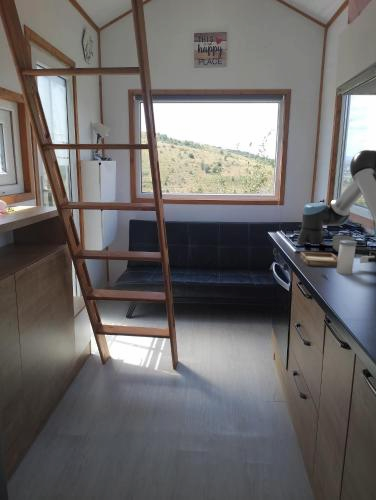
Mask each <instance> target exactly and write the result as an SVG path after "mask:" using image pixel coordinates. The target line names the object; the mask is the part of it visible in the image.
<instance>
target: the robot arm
mask: <svg viewBox="0 0 376 500" xmlns="http://www.w3.org/2000/svg"><path fill="white" fill-rule="evenodd" d="M349 167H350V168H349V171H350V172H349V173H350V175H351V178H352V181H351V182H350V183H349V185H348V186H347V187H346V188H345V190H343V192H341V194H340V195H339V196H338V198H335V199H333V200H331V202H330V203H329V204H328V205H326V204H325V203H324V202H311V203H307V204H305V205H304V206H303V210H302V221H301V229H300V231H299V234H298V237H297V240H296V243H297V244H298V245H302V246H305V245H304V244H306V243H311V244H321V243H323V244H324V245H325V239H324V233H323V228H324V226H326V227H327V226H337V227H338V226H343V225H345V224H346V223H347V222H348V221H349V219H350V216H351V209H352V207H353V206H354V204H355V203H357V202H358V200H359V199H360V198H361V197H362V198H363V199H364V201H365V203H366V206H367V208H368V210H369V213H370V215H371V217H372V219H373V222H374V224H375V225H376V150H373V149H372V150H370V149H364V150H360V151H359V152H357V153H356V154H354V156H353V157H352V159H351V162H350V165H349ZM373 232H374V233H373V235H374V238H375V239H376V226H375V227H374V230H373ZM355 255H361V256H360V260H359V263H360V264H369V263H371V264H372V263H373V264H374V263H375V264H376V248H373V247H359V246H358V247H357V246H356V248H355Z"/></svg>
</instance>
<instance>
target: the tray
mask: <svg viewBox="0 0 376 500" xmlns="http://www.w3.org/2000/svg"><path fill="white" fill-rule="evenodd" d="M299 252H300V253H299V257H300V258H301V260H302V261H303V262H304V264H305V265H306V266H311V267H313V266H315V267H331V268H332V267H335V268H337V262H338V256H336V255H335V254H334V253H332V252H312V251H309V252H308V251H299Z"/></svg>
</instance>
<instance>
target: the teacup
mask: <svg viewBox="0 0 376 500" xmlns="http://www.w3.org/2000/svg"><path fill="white" fill-rule="evenodd" d="M340 240H350V241H355V237H353V236H350V235H339V234H338V235H334V236H332V248H333V250H334V251H335V252H337V253H339V246H340Z"/></svg>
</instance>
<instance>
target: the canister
mask: <svg viewBox="0 0 376 500" xmlns="http://www.w3.org/2000/svg"><path fill="white" fill-rule="evenodd" d="M357 243H358V242H357V241H355V240H354V241H350V240H340V246H339V252H338V253H337V254H338V255H337V257H338V262H337V267H336V271H335V272H336V273H337V274H340V275H345V276H350V275H352V274H353V269H354V260H355V255H356V254H355V248H356V247H357Z"/></svg>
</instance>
